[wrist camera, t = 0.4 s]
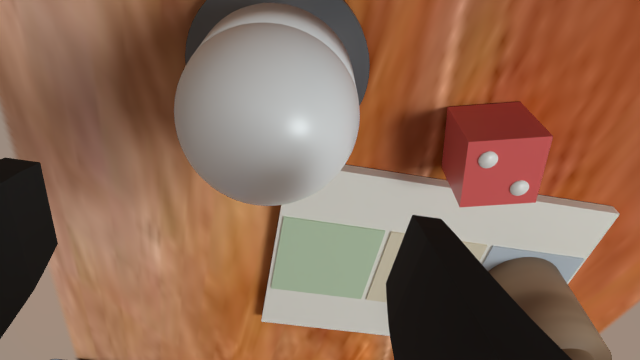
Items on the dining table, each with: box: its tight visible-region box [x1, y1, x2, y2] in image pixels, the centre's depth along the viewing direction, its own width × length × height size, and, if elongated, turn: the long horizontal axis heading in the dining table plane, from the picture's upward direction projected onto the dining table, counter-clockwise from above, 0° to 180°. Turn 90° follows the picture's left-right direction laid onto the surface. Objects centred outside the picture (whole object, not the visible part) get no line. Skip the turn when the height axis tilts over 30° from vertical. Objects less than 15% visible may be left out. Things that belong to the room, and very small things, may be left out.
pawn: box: [488, 257, 612, 360], centre depth 21 cm, size 4×4×6 cm
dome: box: [174, 3, 360, 206], centre depth 13 cm, size 6×6×6 cm
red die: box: [442, 102, 553, 207], centre depth 18 cm, size 3×3×3 cm
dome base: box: [185, 0, 369, 106], centre depth 17 cm, size 7×7×1 cm
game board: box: [261, 165, 620, 336], centre depth 23 cm, size 11×16×1 cm
